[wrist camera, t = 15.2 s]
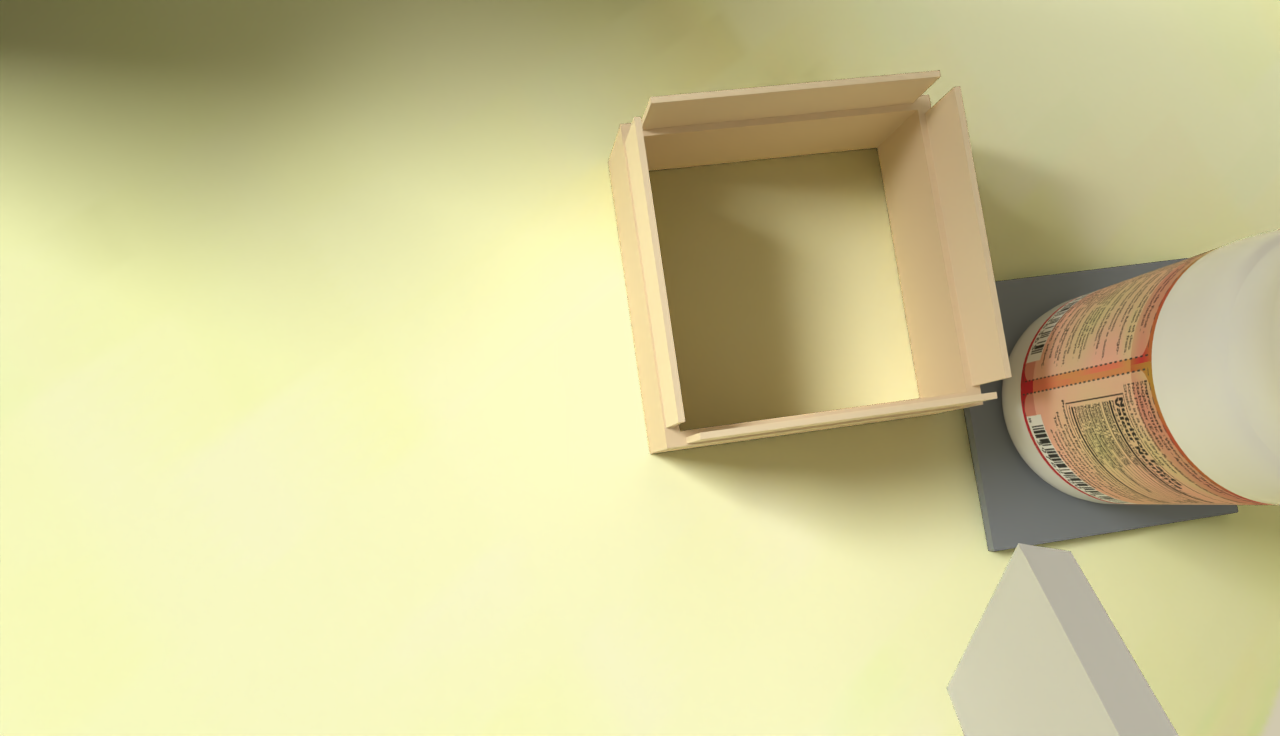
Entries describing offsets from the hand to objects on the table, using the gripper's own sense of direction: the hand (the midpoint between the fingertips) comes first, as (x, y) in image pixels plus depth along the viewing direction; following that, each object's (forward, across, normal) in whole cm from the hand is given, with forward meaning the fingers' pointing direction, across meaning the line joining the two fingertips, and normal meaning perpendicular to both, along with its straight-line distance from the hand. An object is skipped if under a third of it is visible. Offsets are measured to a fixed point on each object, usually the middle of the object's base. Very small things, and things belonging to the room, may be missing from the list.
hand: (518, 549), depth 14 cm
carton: (+33, +11, -10) cm, 36 cm away
